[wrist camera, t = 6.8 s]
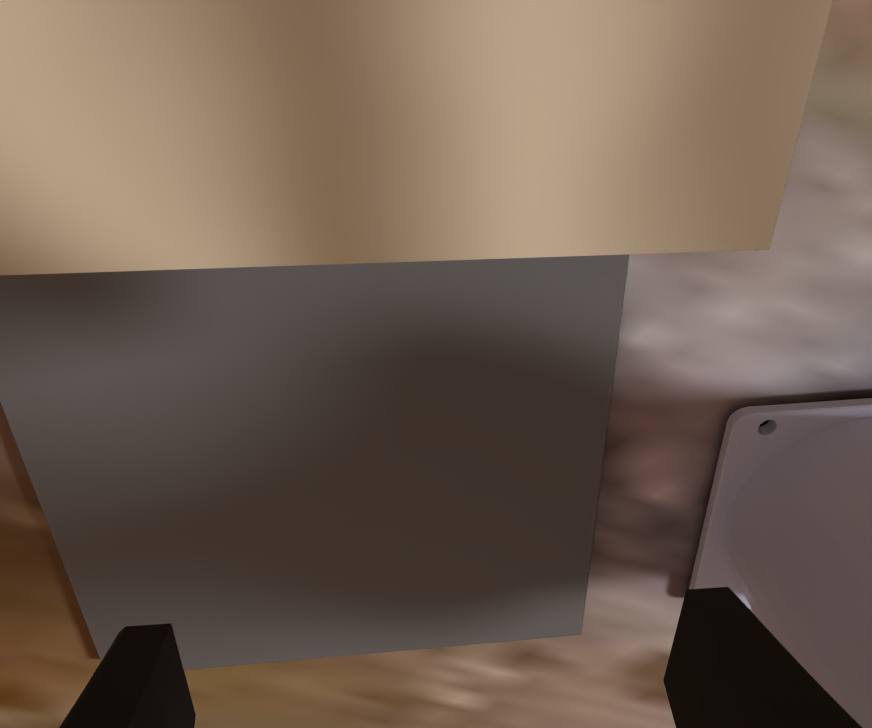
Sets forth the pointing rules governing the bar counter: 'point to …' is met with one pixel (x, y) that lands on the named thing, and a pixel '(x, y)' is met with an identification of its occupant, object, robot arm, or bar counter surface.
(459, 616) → the tray
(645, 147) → the lid
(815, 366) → the bar counter surface
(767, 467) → the robot arm
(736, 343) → the bar counter surface
